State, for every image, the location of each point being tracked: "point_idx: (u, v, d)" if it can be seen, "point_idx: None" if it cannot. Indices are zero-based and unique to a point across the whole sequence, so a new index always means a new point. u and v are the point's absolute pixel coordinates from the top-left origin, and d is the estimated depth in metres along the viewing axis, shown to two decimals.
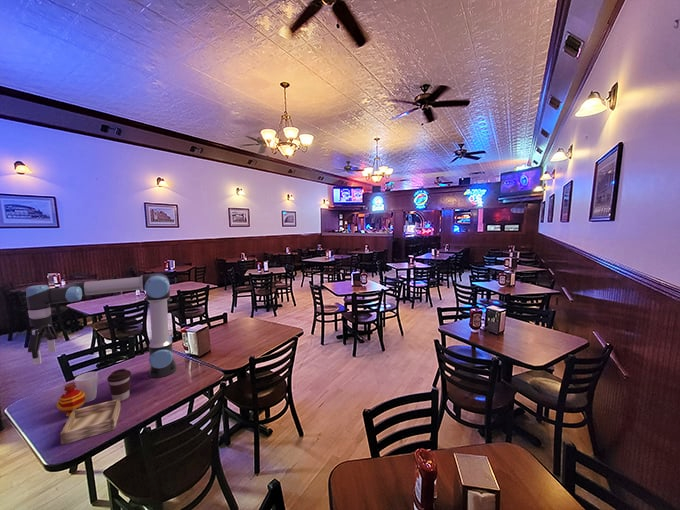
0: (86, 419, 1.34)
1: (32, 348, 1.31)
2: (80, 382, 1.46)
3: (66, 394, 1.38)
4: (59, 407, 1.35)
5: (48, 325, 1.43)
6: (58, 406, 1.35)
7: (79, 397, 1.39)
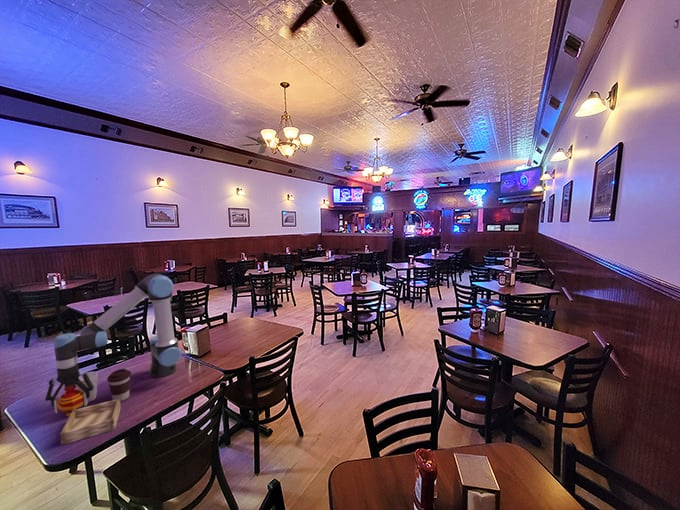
0: (86, 419, 1.34)
1: None
2: None
3: (66, 394, 1.38)
4: (59, 407, 1.35)
5: (77, 376, 1.39)
6: (58, 406, 1.35)
7: (79, 397, 1.39)
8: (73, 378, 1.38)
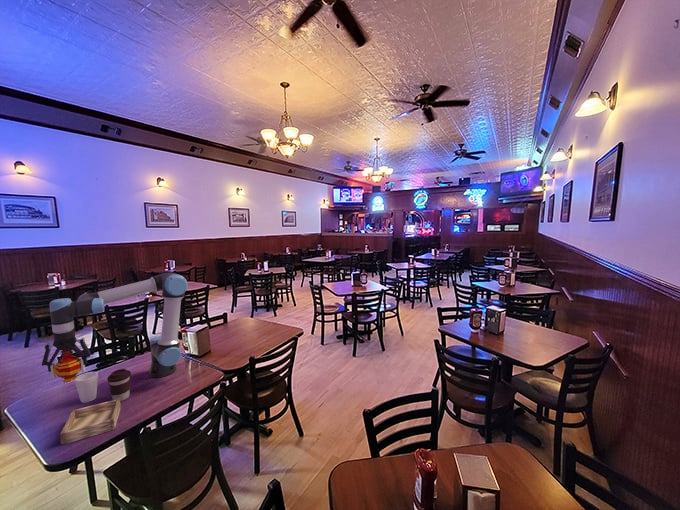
0: (86, 419, 1.34)
1: None
2: (80, 382, 1.46)
3: (63, 360, 1.36)
4: (56, 372, 1.33)
5: (74, 341, 1.37)
6: (55, 371, 1.34)
7: (76, 363, 1.37)
8: (70, 343, 1.36)
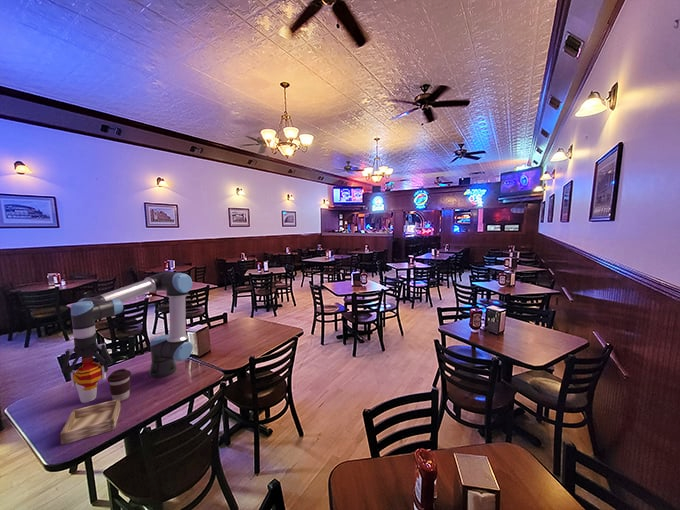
0: (86, 419, 1.34)
1: None
2: None
3: (83, 366, 1.28)
4: (76, 380, 1.25)
5: (95, 347, 1.29)
6: (75, 379, 1.25)
7: (97, 370, 1.29)
8: (91, 349, 1.28)
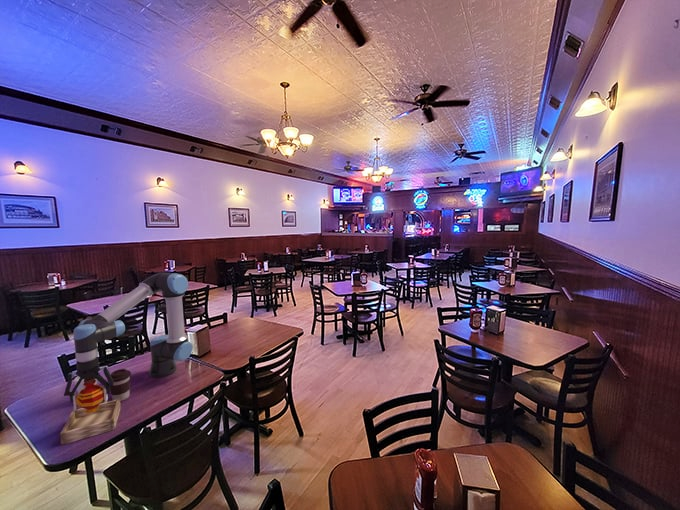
0: (86, 419, 1.34)
1: None
2: None
3: (85, 389, 1.29)
4: (78, 403, 1.26)
5: (97, 369, 1.30)
6: (77, 402, 1.26)
7: (99, 392, 1.30)
8: (93, 372, 1.29)
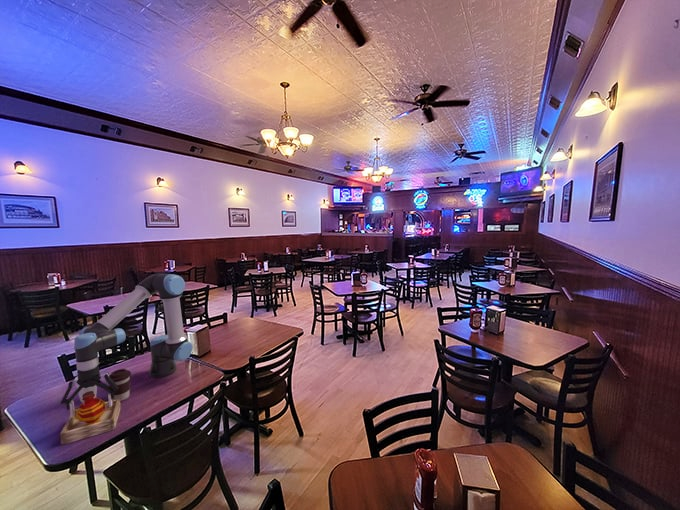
0: None
1: None
2: None
3: (85, 404, 1.29)
4: (79, 418, 1.27)
5: (98, 378, 1.31)
6: (78, 417, 1.27)
7: (99, 406, 1.30)
8: (94, 380, 1.30)
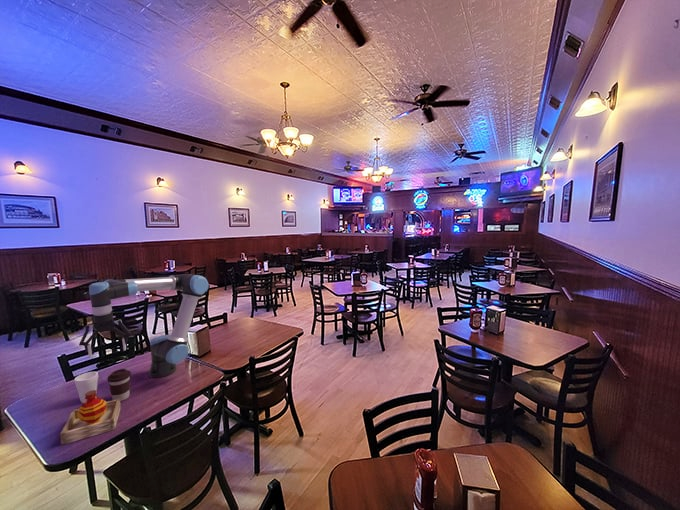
0: None
1: None
2: (80, 382, 1.46)
3: (87, 403, 1.29)
4: (80, 417, 1.27)
5: (112, 323, 1.42)
6: (79, 416, 1.27)
7: (101, 406, 1.31)
8: (109, 325, 1.41)
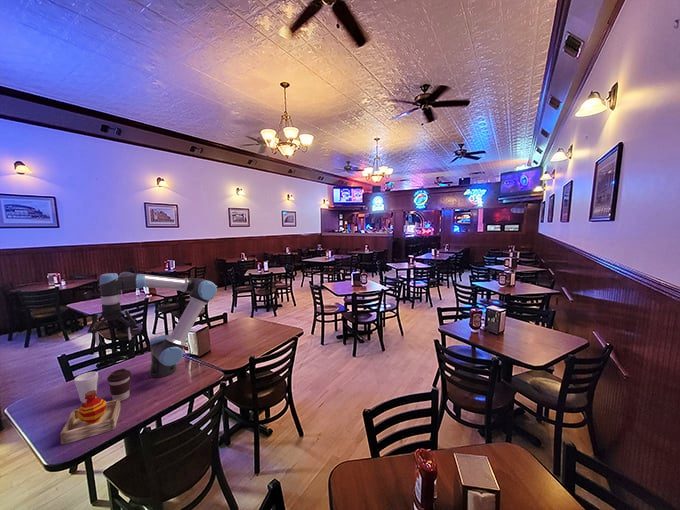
0: None
1: None
2: (80, 382, 1.46)
3: (87, 403, 1.29)
4: (80, 417, 1.27)
5: (119, 313, 1.49)
6: (79, 416, 1.27)
7: (100, 406, 1.31)
8: (116, 314, 1.48)
